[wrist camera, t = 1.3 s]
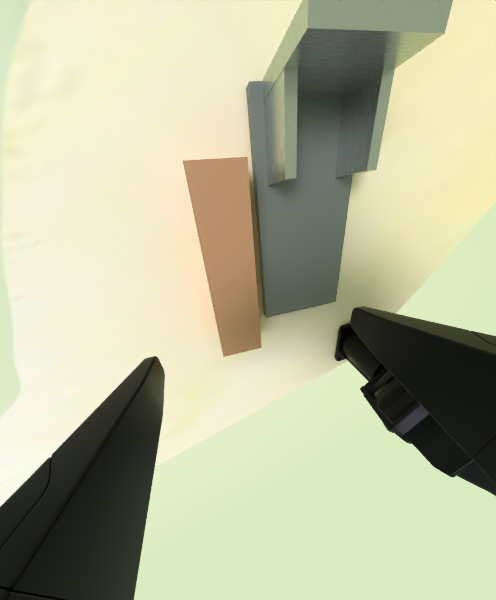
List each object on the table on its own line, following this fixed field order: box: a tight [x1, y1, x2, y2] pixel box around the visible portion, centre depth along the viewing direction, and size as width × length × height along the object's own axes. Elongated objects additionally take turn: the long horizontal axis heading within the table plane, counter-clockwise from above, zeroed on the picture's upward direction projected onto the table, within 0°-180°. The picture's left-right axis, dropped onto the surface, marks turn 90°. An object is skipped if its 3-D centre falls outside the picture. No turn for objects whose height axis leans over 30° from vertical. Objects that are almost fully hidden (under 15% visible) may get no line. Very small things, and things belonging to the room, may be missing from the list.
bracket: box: [262, 0, 453, 185], centre depth 12 cm, size 6×7×6 cm
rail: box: [183, 157, 261, 357], centre depth 17 cm, size 16×4×4 cm, turn 5°
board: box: [246, 81, 352, 318], centre depth 18 cm, size 19×9×1 cm, turn 7°
